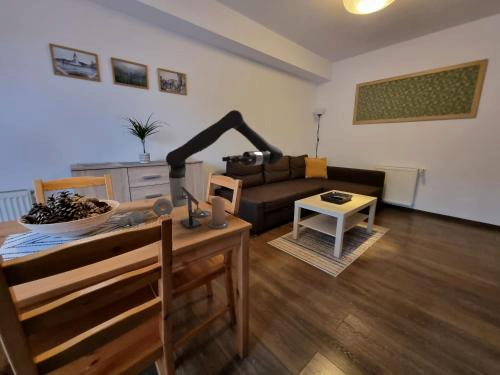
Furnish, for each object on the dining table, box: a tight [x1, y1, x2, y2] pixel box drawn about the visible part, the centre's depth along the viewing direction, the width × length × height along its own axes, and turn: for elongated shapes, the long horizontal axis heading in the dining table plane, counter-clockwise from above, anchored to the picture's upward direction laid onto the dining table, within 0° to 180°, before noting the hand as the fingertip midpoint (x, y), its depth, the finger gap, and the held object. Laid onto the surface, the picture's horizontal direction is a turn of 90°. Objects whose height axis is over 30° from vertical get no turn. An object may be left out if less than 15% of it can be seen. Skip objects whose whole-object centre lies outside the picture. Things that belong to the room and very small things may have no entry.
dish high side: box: [196, 209, 212, 219], centre depth 112 cm, size 9×9×1 cm
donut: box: [152, 197, 174, 217], centre depth 108 cm, size 10×4×10 cm, turn 120°
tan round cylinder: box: [210, 196, 226, 226], centre depth 97 cm, size 6×6×12 cm
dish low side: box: [208, 220, 229, 230], centre depth 98 cm, size 9×9×1 cm
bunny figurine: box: [117, 209, 155, 227], centre depth 101 cm, size 10×5×15 cm
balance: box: [176, 187, 205, 231], centre depth 97 cm, size 23×7×17 cm, turn 38°
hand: (227, 160), depth 102 cm, fingers open, 8 cm apart
